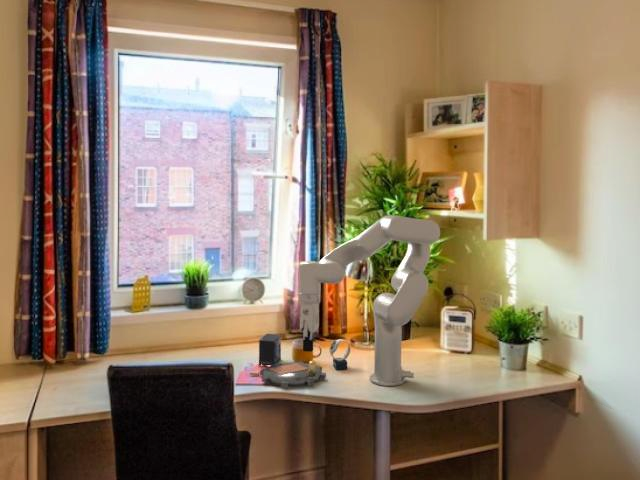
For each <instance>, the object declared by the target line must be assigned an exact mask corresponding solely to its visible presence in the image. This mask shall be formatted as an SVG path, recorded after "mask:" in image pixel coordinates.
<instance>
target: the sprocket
mask: <svg viewBox="0 0 640 480" xmlns="http://www.w3.org/2000/svg"><path fill="white" fill-rule="evenodd" d="M259 372H260V375H259V376H261V382H262V383H264V384H271V385H274V386H278V387H280V388H285V389H286V388H288V389H289V387H291V388H292V387H295V388H297V387H305V386H306V387H310V386H314V385H315V384H316V383H318V382H319V381H321V380H325V379H326V378H327V372H323V366H320V365H317V364H316V361H315V360H309V361H308V363H305V362H303V361H295V362H282V363H280V362H278V363H276V364H273V365H272V366H270V367H266V368H261V369H260V370H259Z"/></svg>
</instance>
